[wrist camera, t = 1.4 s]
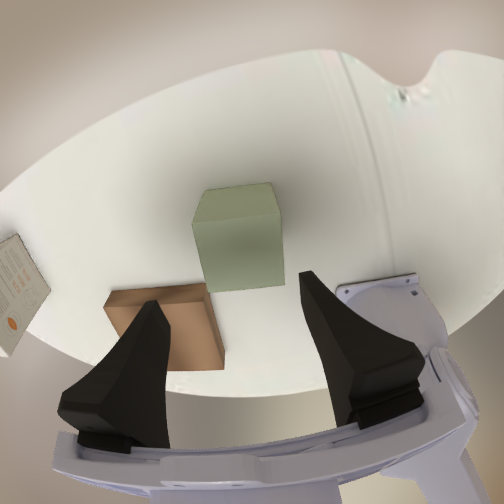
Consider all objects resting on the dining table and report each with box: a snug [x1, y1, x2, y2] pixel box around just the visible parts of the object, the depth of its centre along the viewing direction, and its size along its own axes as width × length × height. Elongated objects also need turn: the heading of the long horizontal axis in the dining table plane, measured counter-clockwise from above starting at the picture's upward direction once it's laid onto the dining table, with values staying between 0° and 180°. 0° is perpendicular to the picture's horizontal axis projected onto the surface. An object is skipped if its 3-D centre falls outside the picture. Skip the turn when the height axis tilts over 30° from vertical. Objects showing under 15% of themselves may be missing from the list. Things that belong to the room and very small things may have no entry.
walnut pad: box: [103, 283, 225, 371], centre depth 27 cm, size 10×10×3 cm
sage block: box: [192, 183, 285, 293], centre depth 19 cm, size 5×5×6 cm
